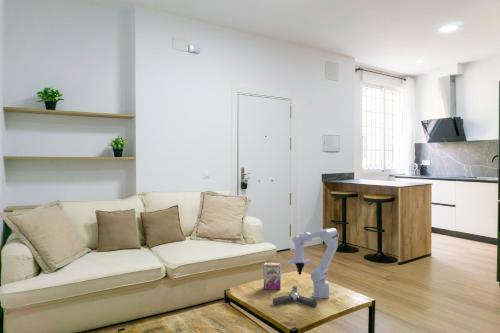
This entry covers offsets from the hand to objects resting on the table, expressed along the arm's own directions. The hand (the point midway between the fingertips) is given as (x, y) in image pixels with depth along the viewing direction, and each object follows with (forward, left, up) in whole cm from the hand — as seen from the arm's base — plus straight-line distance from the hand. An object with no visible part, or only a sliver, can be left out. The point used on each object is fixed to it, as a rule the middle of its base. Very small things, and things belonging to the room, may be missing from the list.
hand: (299, 274), depth 217 cm
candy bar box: (+18, +2, -10) cm, 20 cm away
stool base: (+3, +22, -9) cm, 24 cm away
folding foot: (+3, +11, -9) cm, 14 cm away
